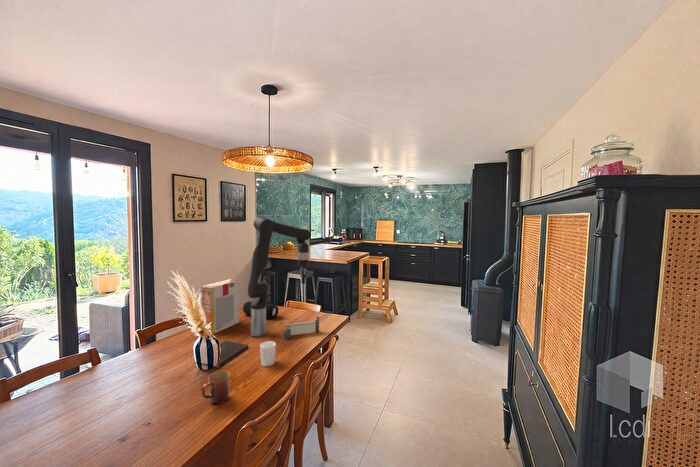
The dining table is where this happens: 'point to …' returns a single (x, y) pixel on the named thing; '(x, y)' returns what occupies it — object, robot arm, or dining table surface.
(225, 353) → the hardcover book
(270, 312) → the portable speaker
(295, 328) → the gate
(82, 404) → the dining table surface
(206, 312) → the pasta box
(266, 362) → the white cup
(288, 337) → the latch block
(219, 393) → the mug
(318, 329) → the hinge post
